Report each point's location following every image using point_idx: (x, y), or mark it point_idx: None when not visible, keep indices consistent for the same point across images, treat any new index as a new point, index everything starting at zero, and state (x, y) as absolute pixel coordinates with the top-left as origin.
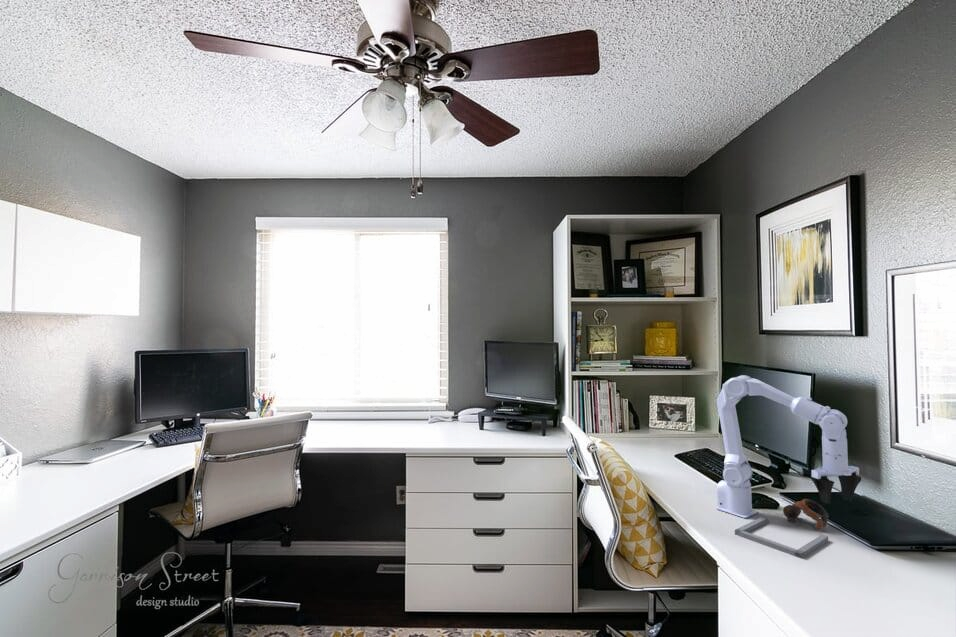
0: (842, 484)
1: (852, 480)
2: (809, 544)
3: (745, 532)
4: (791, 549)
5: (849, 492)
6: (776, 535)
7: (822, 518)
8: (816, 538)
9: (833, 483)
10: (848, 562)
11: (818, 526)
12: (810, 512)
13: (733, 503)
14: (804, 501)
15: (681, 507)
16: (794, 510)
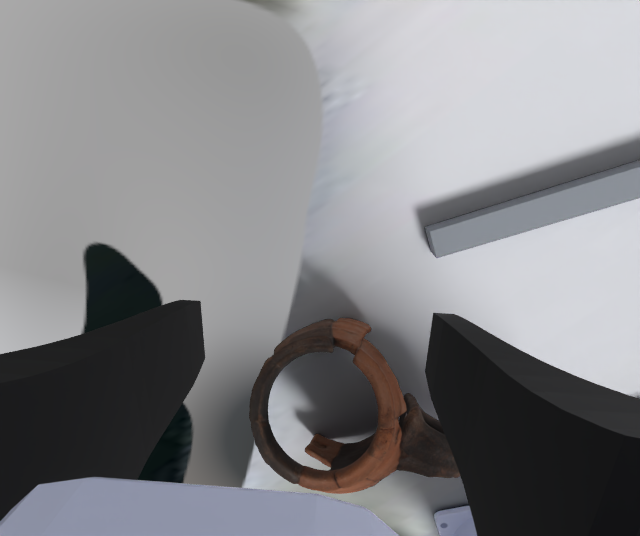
0: (129, 466)
1: (12, 428)
2: (625, 190)
3: None
4: None
5: (158, 346)
6: (593, 340)
7: (332, 344)
8: (510, 233)
9: (607, 427)
10: (588, 4)
11: (362, 325)
12: (390, 387)
13: None
14: (360, 469)
15: None
16: (441, 433)
